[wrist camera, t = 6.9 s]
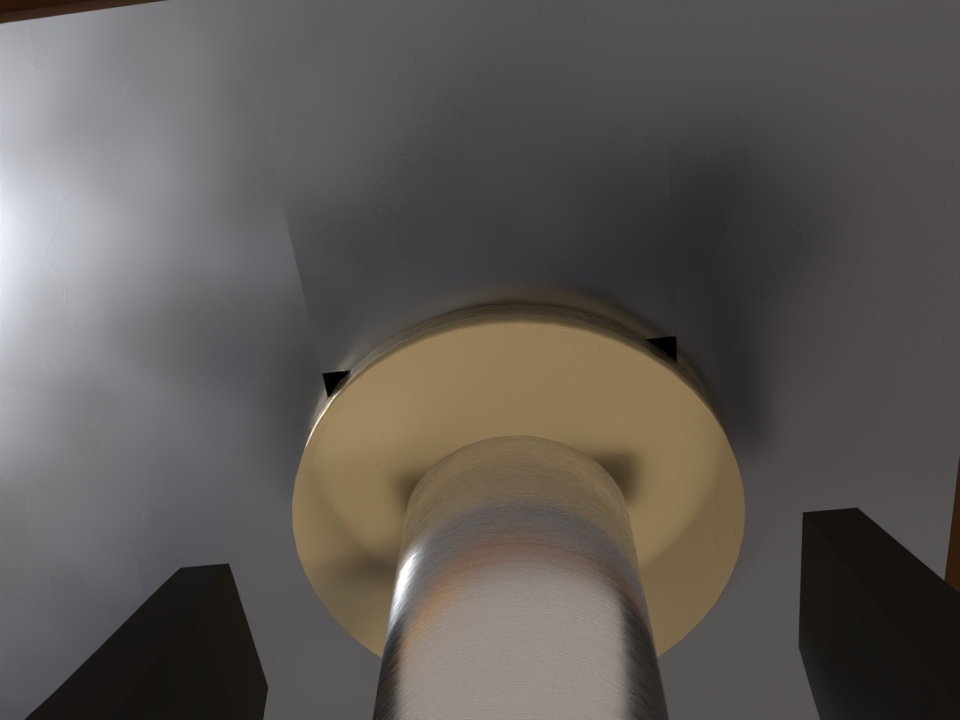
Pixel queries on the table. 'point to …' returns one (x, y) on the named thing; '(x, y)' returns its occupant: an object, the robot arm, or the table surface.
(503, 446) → the gold disc with post
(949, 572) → the table surface
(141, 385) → the block
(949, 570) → the table surface
